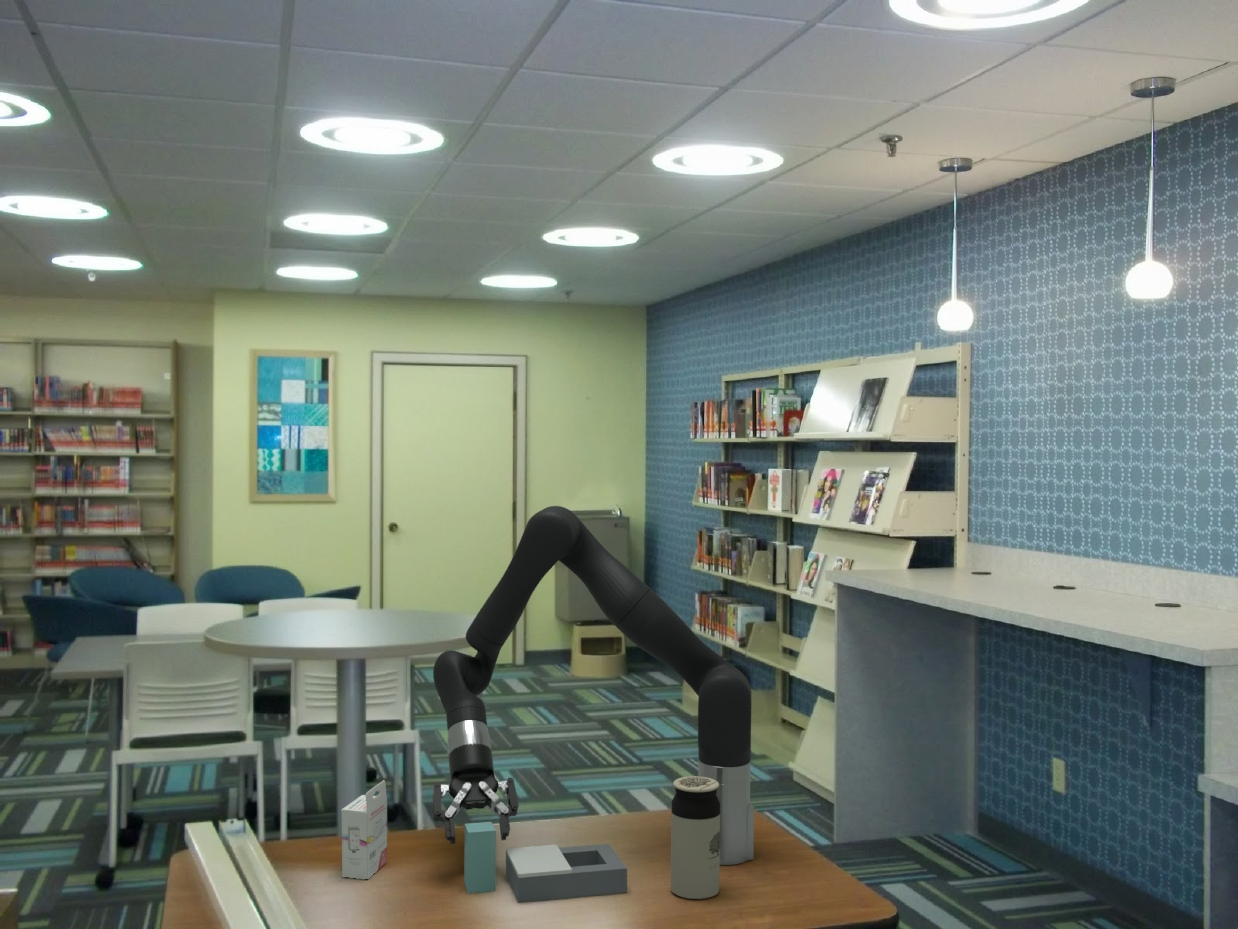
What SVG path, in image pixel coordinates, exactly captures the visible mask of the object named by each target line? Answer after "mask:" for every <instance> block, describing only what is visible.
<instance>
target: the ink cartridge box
mask: <svg viewBox="0 0 1238 929" xmlns="http://www.w3.org/2000/svg"><path fill="white" fill-rule="evenodd" d="M376 792H377V793H378V794H377V795H375V794H376ZM341 862H342V864H341V865H342V866H341V869H342V871H341V875H342V876H341V877H349V878H348V879H353V878H356V879H355V880H365V879H368V880H369V879H370V878H372V877H373V876H374V875H373V874H374V873H375V874H376V873H377V872H378V871H379V870H380V869H382V867H384V866H385V865H386V863H387V862H388V797H387V786H386V780H385V779H383V780H382V781H381V782H379V783H378V784H376V785H375V786H373V787H372V788H371V789H369V790H368V791H366V793H365V794H361V795H360V796H358V797H357V798H356V799H355V800H353V801H352V802H350V803H349V804H347V805H346V806H344V807H343V808H341Z"/></svg>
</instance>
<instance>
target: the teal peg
mask: <svg viewBox="0 0 1238 929" xmlns="http://www.w3.org/2000/svg"><path fill="white" fill-rule="evenodd" d="M496 837H497V831H496V828H495V825H494V824H493V822H492V821H482V822H471V823H464V847H463V848H464V849H463V850H464V859H463V861H464V864H463V865H464V866H463V868H464V870H463V872H464V873H463V874H464V875H463V881H464V882H463V883H464V884H463V885H464V886H466V887H465V889H466V892H467V894H475V893H489V892H495V891H496V877H497V876H496V867H497V866H496V865H497V862H496V861H497V860H496V858H497V856H496V855H497V854H496V853H497V852H496V851H497V850H496V847H497V846H496V844H497V838H496Z"/></svg>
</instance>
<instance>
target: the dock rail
mask: <svg viewBox="0 0 1238 929" xmlns="http://www.w3.org/2000/svg"><path fill="white" fill-rule="evenodd" d="M505 877H506V879H507V882H508V883H510V884H509V886H510V888H511V890H512V892H513V894H514V897H515V898H516V901H517V903H518V904H519V903H521V904H522V903H530V902H541V901H551V900H561V899H562V900H563V899H571V898H572V899H573V898H583V897H594V896H595V897H596V896H605V895H615V894H617V895H618V894H626V893H628V867H627V866H626V865H625V863H624V862H623V861H622V859H621V858H620V857H619V855H618V854H617V852H616V851H615V850H614V848H613V847H612V846H611V845H610V843H603V844H602V843H601V844H591V845H590V844H589V845H577V846H576V845H575V846H563V847H559V846H558V844H545V845H536V846H535V845H533V846H523V847H521V846H520V847H519V846H518V847H511V848H510V847H508V848H505Z"/></svg>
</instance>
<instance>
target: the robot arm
mask: <svg viewBox="0 0 1238 929" xmlns="http://www.w3.org/2000/svg"><path fill="white" fill-rule="evenodd" d="M525 525H526V526H525V527H524V530H523V533H522V535H521V537H520V540H519V542H518V546H517V547H516V549H515V552H514V554H513V556H512V558H511V560H510V562H509V564H508V566H507V568H506V570H505V572H504V573H503V574H502V577H501V578H500V580H499V582H498V583H497V584H496V586H495V587H494V588H493V590H492V591H491V593H490V594H489V596H488V597H487V599H486V600H485V601H484V604H483V605H482V606H481V608H480V610H479V611H478V613H477V614H476V616H475V617H474V619H473V621H472V622H471V623H470V626H469V627H468V628H467V630H466V633H465V638H466V639H465V640H466V642H467V643H468V645H469V646H470V647H471V648H472V649H474V650H476V651H477V652H476V654H475V655H474V656H473V655H468V654H466V653H463V652H459V651H458V650H457V651H456V650H451V649H450V650H445V651H444V652H442V653H441V654H440V655H439V656H438V657H437V659H436V660H435V662H434V665H433V671H432V672H433V673H432V675H433V676H432V678H433V683H434V687H435V689H436V692H437V695H438V697H439V699H440V702H441V704H442V707H443V710H444V712H445V714H446V716H445V717H446V726H447V756H448V766H449V767H448V768H449V776H450V783H449V784H441V782H439V781H435V782H434V783H433V788H432V820H433V821H434V822H439V821H440V822H443V824H444V834H445V839H446V841H447V842H449V845H454V844H456V829H455V828H456V825H455V817H456V816H457V815H458V813H459V812H460V811H461V809H462V808H463V809H465V810H466V811H467V810H473V809H479V810H480V809H481V810H482V809H485V808H486V807H487V808H488V809H489V810H490V811H491V812H492V813H493V814H495V815H496V816H497V817H498V818H499V821H498V823H499V832H500V840H501V841H506V840H507V837H509V835H510V832H511V825H510V824H511V823H510V817H514V816H517V814H518V810H519V799H518V796H517V789H516V784H515V780H514V778H513V777H508V778H507V779H506V780H502V781H498V780H497V779H496V776H495V770H494V769H495V768H494V761H493V760H494V759H493V751H492V750H493V749H492V743H491V736H490V733H489V729H488V722H487V721H488V719H487V711H486V706H485V702H483V701H484V700H482V699H481V698H480V697H479V695H480V694H482V693H483V692H484V691H485V690H487V688H488V687H489V685H490V683H491V681H492V677H493V674H494V670H495V667H496V664H497V661H498V658H499V655H500V652H501V650H502V648H503V646H504V645H505V643H506V641H507V640H508V638H509V637H510V636H511V634H512V632H513V630H515V628H516V626H517V624H518V622H519V620H520V619H521V617H522V615H523V613H524V611H525V608H526V607H527V605H528V602H529V601H530V599H531V597H532V595H533V593H534V591H535V590H536V588H537V587H538V585H539V584H540V582H541V581H542V580H543V578H544V577H545V576H546V575H547V574H548V572H550V570H551V569H552V568H553V567H554V566H555V565H556V563H558V561H559V562H560V563H562V564H563V565H564V566H565V567H566V568H567V569H568V570H569V571H571V572H572V573H573V574H574V575H575V576H577V578H579V580H580V582H582V583H583V584H584V585H585V587H586V588H587V591H589V593H590V594H591V596H592V598H593V599H594V601H595V602H596V604H597V605H598V607H599V609H600V610H601V611H602V613H603V614H604V615H605V617H606V618H607V619H608V620H609V621H610V622H611V623H612V625H614V626H615V627H616V629H618V630H619V631H620V633H622V634H623V635H624V636H625V637H626V638H627V639H628V640H629V641H630V642H632V644H635V645H636V646H637V647H638V648H640V649H641V650H642V651H644V652H645V653H646V654H649V655H650V656H651V657H653V658H655V659H657V660H658V661H660V662H662V663H663V664H665V665H667V666H668V667H669V668H671V669H672V670H673V671H674V672H676V673H677V674H678V675H679V676H680V677H681V679H683V681H685V683H687V684H688V686H689V687H690V688H691V690H693V691H694V693H695V694H696V695H697V696H698V700H697V705H698V706H697V749H698V760H697V762H698V764H697V765H698V768H697V769H698V770H697V776H698V777H707V778H711V779H714V780H716V781H717V782H718V783H719V787H718V788H717V793H716V795H717V797H718V799H719V801H720V864H719V866H721V865H722V866H725V865H726V866H729V865H739V864H741V863H744V862H747V861H751V860H752V861H753V860H754V843H755V841H754V840H755V836H754V834H755V831H754V829H755V828H754V826H755V824H754V822H755V820H754V819H755V807H754V805H753V804H752V803H751V757H752V756H751V752H752V751H751V750H752V688H751V684H750V681H749V680H748V678H747V676H745V674H744V673H743V672H742V671H740V670H739V669H738V668H737V667H735V666H734V665H733V664H731V663H730V662H728V661H727V660H726V659H725V658H723V657H722V656H721V655H719V654H718V653H717V652H715V650H713V649H711V648H710V647H709V646H708V645H707V644H705V643H704V641H702V640H701V638H699V636H697V634H695V633H694V631H693V630H692V629H691V628H690V627H689V626H688V625H687V624H686V622H684V620H683V619H682V618H681V617H680V616H679V615H678V614H677V613H676V612H675V611H674V610H673V609H672V608H671V607H670V605H668V604H667V603H666V602H665V601H664V600H663V599H662V598H661V597H660V596H659V595H658V594H657V592H655V591H654V590H653V589H652V588H650V586H648V585H647V584H646V583H645V582H644V581H643V580H641V578H639V577H638V576H637V575H636V574H634V572H633V571H631V570H630V569H629V568H628V567H627V566H626V565H624V564H623V563H622V562H621V561H619V560H618V559H617V558H616V557H614V556H613V555H612V554H611V553H610V552H609V551H608V550H607V549H606V548H605V547H604V546H603V544H601V543H600V542H599V540H598V539H597V538H596V537H595V536H594V534H593V533H592V532H591V531H590V530H589V529H588V528H587V526H586V525H585V524H584V523H583V522H582V520H581V519H580V518H579V517H578V516H577V515H576V514H575V513H573V511H572V510H570V509H568V508H567V507H563V506H561V505H551V506H547V507H545V508H543V509H542V510H541V509H540V510H539V511H537V512H536V513H534V514H533V515H532V516H531V517H530V518H529V519H528V521H527V522H526V524H525ZM498 790H501V792H502V794H503V795H506V799H507V805H508V806H507V805H505V804H504V803H503V801H502V800H501V798H500V797H499V796H498V794H497V792H498ZM448 793H449V795H450V796H451V797H452V798H453V800H452V801H451V804H450V805H449V807H448V809H447V810H442V799H444V798H445V797H446V794H448Z"/></svg>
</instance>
